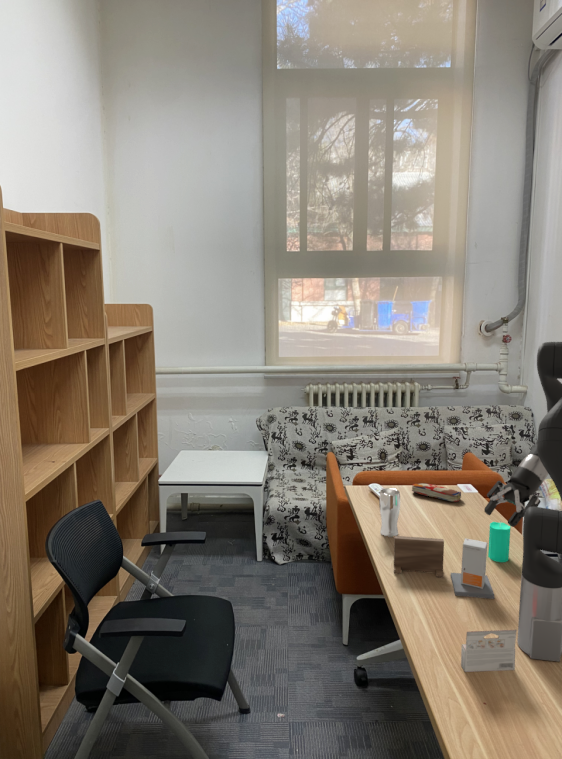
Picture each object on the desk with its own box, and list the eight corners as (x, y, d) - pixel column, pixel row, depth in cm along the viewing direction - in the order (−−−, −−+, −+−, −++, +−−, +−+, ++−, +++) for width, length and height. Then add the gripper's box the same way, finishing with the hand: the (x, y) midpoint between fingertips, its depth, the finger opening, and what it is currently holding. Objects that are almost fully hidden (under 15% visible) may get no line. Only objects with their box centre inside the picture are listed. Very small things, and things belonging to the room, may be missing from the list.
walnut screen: (443, 577, 151) (444, 545, 149) (394, 573, 154) (394, 541, 152) (441, 567, 157) (442, 535, 155) (393, 563, 159) (394, 532, 158)
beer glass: (384, 538, 176) (385, 496, 173) (375, 530, 182) (376, 489, 180) (403, 536, 178) (404, 494, 175) (393, 527, 184) (394, 487, 182)
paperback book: (424, 488, 223) (424, 476, 222) (465, 501, 208) (466, 489, 207) (407, 494, 216) (408, 482, 215) (449, 508, 201) (450, 495, 200)
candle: (510, 563, 159) (513, 525, 157) (489, 561, 160) (491, 524, 158) (506, 553, 165) (508, 517, 163) (486, 552, 166) (488, 516, 164)
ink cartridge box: (460, 665, 115) (461, 624, 114) (509, 663, 116) (512, 622, 114) (464, 673, 113) (466, 631, 111) (515, 671, 113) (517, 629, 112)
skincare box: (460, 584, 145) (462, 543, 143) (462, 577, 149) (464, 537, 147) (483, 589, 142) (485, 548, 140) (485, 582, 146) (487, 541, 144)
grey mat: (494, 598, 140) (494, 594, 140) (455, 595, 142) (455, 591, 142) (486, 579, 150) (487, 575, 150) (450, 576, 152) (450, 572, 151)
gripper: (504, 459, 154) (472, 502, 151) (545, 473, 141) (511, 521, 139) (516, 474, 157) (485, 517, 154) (558, 489, 144) (525, 536, 141)
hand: (498, 519), depth 146 cm, fingers open, 8 cm apart
